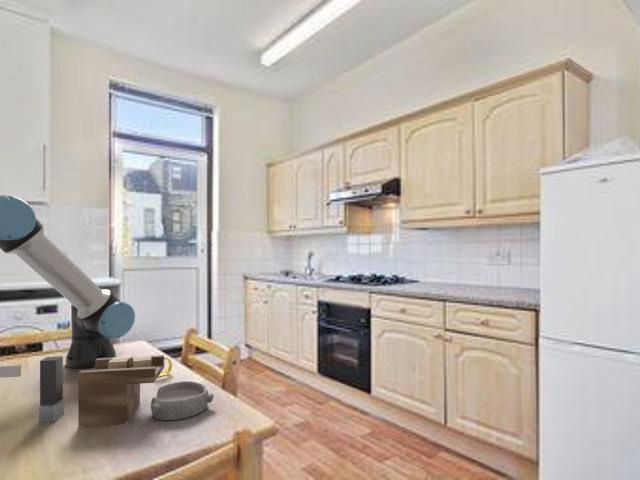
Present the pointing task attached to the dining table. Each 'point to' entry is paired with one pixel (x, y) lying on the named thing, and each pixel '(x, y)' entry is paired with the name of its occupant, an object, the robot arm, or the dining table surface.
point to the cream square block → (119, 363)
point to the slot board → (113, 391)
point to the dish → (180, 400)
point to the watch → (168, 368)
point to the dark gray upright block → (51, 389)
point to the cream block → (142, 361)
